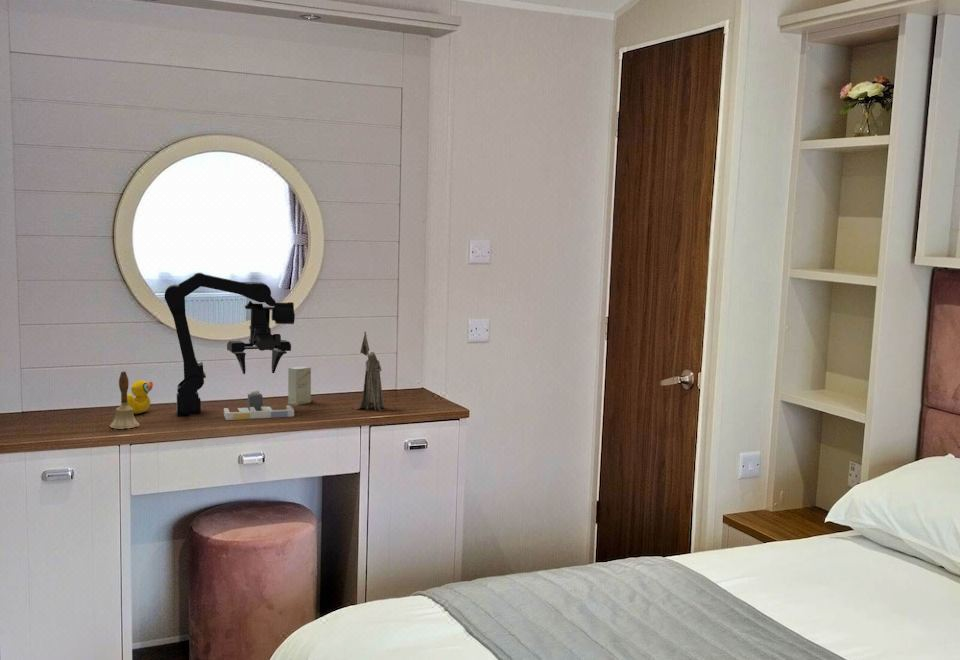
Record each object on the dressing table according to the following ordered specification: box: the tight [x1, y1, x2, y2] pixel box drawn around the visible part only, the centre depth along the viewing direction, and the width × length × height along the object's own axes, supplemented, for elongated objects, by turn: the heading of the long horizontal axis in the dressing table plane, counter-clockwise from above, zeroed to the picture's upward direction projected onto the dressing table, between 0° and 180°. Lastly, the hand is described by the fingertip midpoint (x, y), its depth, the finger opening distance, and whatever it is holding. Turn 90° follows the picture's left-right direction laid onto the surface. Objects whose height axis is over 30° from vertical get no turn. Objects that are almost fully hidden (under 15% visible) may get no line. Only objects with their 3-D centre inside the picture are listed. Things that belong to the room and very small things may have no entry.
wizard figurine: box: [354, 331, 386, 412], centre depth 300 cm, size 10×8×25 cm
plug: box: [247, 389, 264, 411], centre depth 294 cm, size 4×4×6 cm
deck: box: [237, 406, 273, 412], centre depth 294 cm, size 10×7×1 cm
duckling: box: [127, 379, 154, 415], centre depth 288 cm, size 11×5×10 cm, turn 158°
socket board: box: [223, 404, 295, 421], centre depth 284 cm, size 20×11×2 cm, turn 110°
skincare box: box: [287, 365, 312, 406], centre depth 306 cm, size 6×4×12 cm
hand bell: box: [109, 370, 141, 429], centre depth 269 cm, size 8×8×16 cm
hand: (258, 373), depth 294 cm, fingers open, 9 cm apart
